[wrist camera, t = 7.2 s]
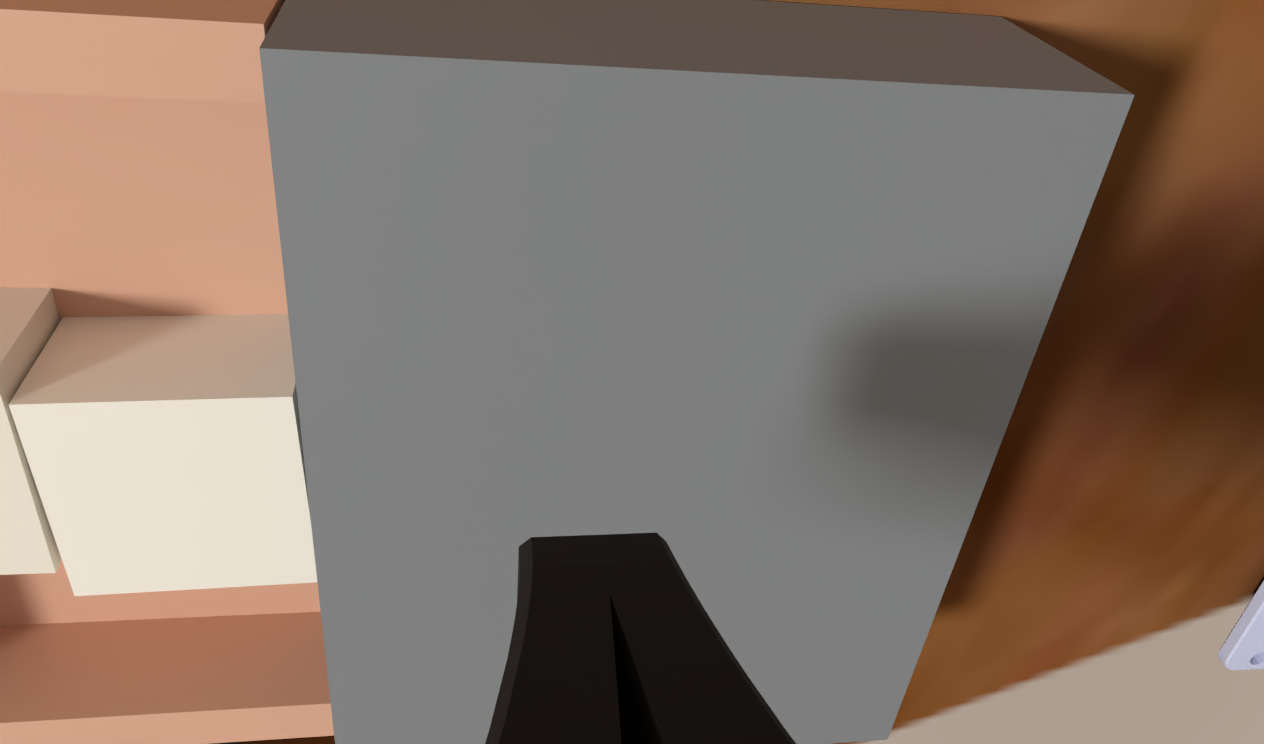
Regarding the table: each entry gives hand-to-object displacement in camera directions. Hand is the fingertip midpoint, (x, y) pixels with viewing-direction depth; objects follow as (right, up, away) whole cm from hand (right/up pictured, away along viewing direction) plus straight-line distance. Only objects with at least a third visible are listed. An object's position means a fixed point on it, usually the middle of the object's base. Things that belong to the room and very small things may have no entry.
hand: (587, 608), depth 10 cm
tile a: (-7, +2, +8) cm, 11 cm away
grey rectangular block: (0, +3, +10) cm, 10 cm away
